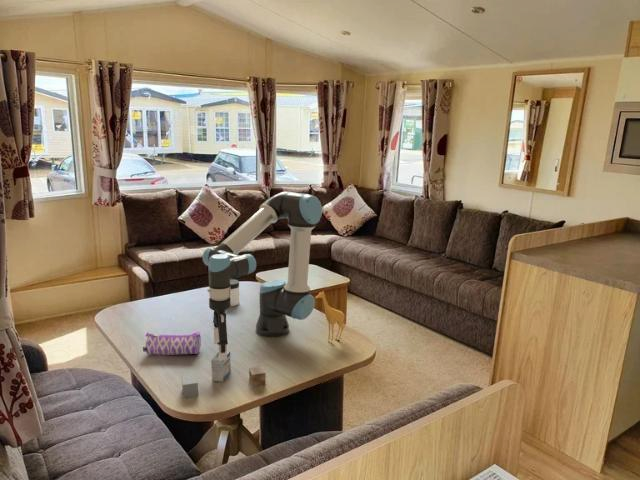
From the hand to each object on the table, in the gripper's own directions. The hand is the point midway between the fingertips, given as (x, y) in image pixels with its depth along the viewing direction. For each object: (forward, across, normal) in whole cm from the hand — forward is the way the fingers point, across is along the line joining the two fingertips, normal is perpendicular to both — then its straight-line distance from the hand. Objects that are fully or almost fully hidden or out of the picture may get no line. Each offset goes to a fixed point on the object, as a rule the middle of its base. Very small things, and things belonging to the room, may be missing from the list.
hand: (220, 351), depth 176 cm
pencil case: (+11, -24, -16) cm, 31 cm away
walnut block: (+10, +8, +12) cm, 18 cm away
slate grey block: (+11, +8, -12) cm, 18 cm away
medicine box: (+11, 0, 0) cm, 11 cm away
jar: (+10, -71, +16) cm, 74 cm away
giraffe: (+10, -15, +50) cm, 53 cm away
